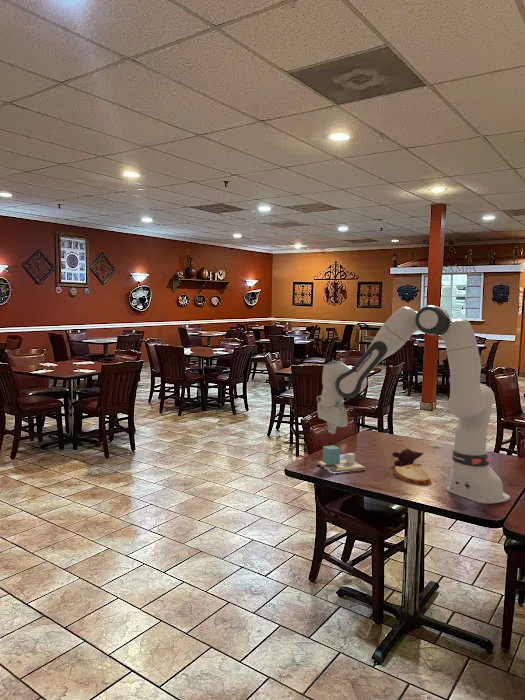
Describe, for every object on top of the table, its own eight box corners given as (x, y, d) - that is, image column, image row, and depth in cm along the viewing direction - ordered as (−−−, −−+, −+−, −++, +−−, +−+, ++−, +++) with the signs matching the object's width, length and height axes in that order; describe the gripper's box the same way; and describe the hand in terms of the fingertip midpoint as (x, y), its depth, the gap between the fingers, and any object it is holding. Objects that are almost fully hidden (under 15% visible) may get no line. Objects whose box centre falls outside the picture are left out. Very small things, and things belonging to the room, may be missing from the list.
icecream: (416, 445, 242) (387, 451, 237) (426, 445, 235) (396, 451, 230) (419, 461, 241) (390, 467, 236) (429, 461, 234) (399, 467, 229)
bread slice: (429, 487, 206) (429, 478, 206) (383, 479, 216) (383, 470, 216) (441, 475, 221) (442, 466, 221) (398, 468, 231) (398, 459, 231)
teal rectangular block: (339, 464, 226) (340, 448, 225) (328, 465, 224) (328, 449, 223) (333, 460, 231) (334, 445, 230) (322, 461, 229) (323, 446, 228)
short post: (354, 463, 230) (354, 454, 230) (349, 464, 229) (349, 455, 229) (351, 462, 232) (351, 452, 232) (346, 462, 231) (346, 453, 231)
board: (365, 470, 225) (365, 467, 225) (332, 474, 220) (332, 470, 220) (348, 461, 238) (348, 458, 238) (317, 464, 233) (317, 461, 233)
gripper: (351, 404, 217) (351, 438, 218) (328, 395, 236) (327, 427, 237) (337, 405, 214) (336, 439, 216) (315, 396, 234) (314, 428, 235)
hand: (331, 433), depth 226 cm, fingers closed
